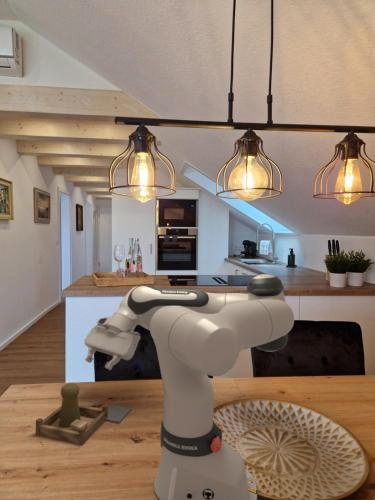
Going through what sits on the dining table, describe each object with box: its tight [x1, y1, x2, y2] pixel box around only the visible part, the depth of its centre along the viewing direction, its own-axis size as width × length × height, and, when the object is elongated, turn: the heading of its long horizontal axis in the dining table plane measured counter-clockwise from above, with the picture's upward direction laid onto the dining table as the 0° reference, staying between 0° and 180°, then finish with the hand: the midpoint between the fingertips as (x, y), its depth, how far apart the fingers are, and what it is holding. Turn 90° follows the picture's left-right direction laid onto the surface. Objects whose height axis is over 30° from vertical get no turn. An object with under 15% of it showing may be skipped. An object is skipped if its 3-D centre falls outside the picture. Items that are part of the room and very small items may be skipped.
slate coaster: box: [94, 403, 132, 425], centre depth 100 cm, size 8×8×1 cm
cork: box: [58, 382, 82, 429], centre depth 96 cm, size 6×6×11 cm
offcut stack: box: [68, 419, 89, 432], centre depth 89 cm, size 5×4×4 cm
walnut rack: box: [35, 404, 108, 446], centre depth 94 cm, size 15×13×4 cm
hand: (97, 365), depth 104 cm, fingers open, 8 cm apart
